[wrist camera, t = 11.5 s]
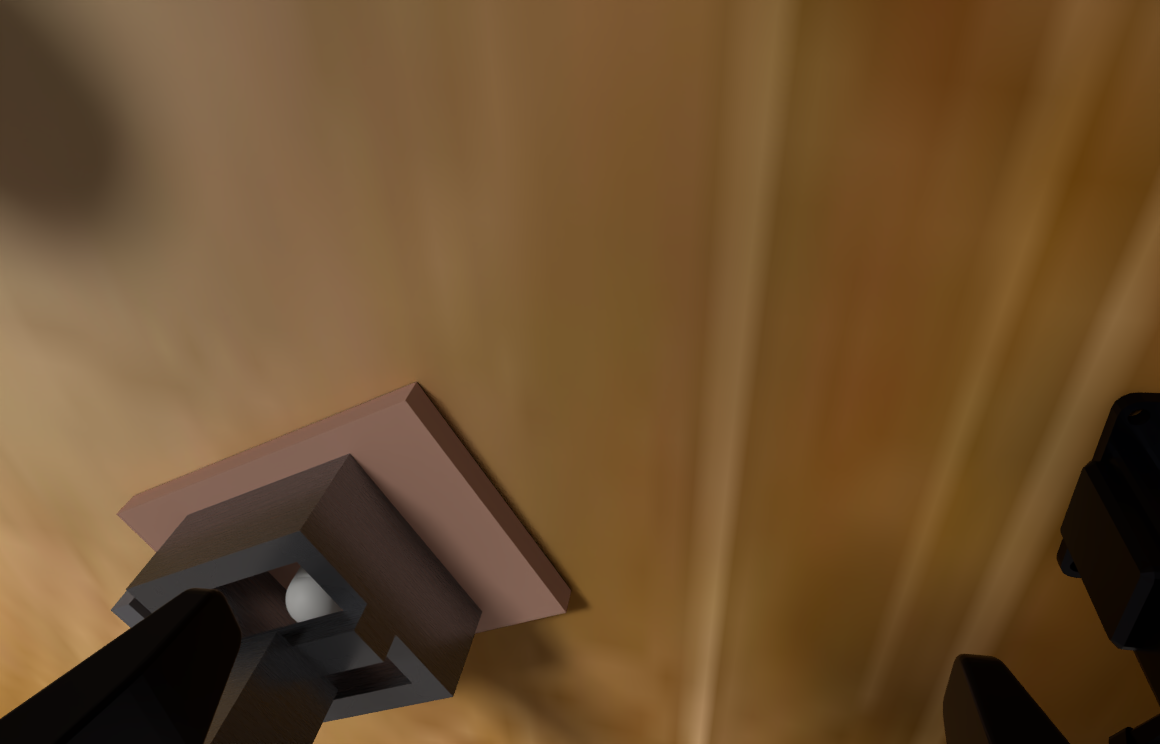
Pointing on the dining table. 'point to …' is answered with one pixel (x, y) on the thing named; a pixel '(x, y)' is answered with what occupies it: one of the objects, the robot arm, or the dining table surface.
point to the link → (327, 643)
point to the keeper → (411, 483)
